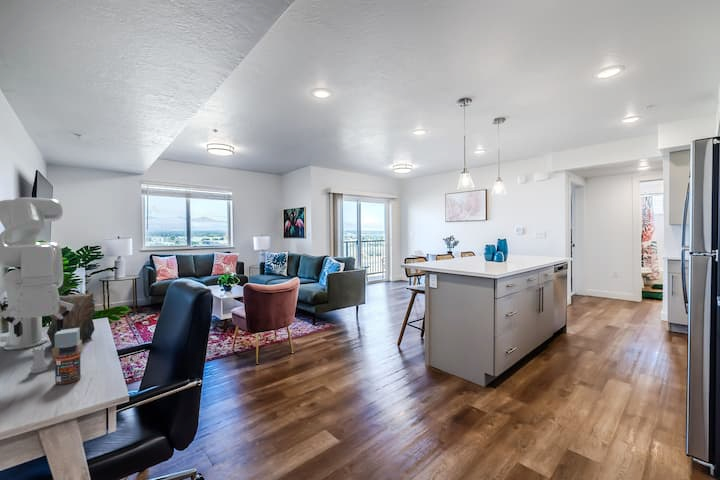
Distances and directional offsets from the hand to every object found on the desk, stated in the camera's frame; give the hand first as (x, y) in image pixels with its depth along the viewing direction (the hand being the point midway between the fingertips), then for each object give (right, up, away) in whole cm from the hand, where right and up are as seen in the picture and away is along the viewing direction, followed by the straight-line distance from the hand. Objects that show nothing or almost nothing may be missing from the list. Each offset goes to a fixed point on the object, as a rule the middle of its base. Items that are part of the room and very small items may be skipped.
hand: (40, 333), depth 106 cm
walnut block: (-2, -13, +12) cm, 18 cm away
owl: (-15, -13, +28) cm, 34 cm away
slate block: (-2, -8, +12) cm, 15 cm away
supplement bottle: (+16, -13, -7) cm, 22 cm away
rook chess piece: (-1, -13, +1) cm, 13 cm away
